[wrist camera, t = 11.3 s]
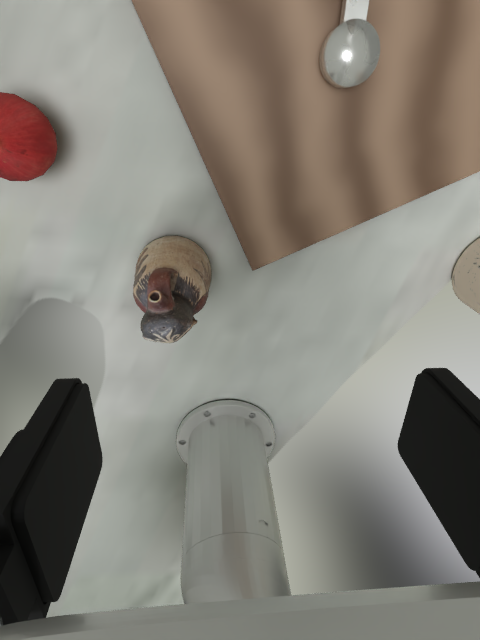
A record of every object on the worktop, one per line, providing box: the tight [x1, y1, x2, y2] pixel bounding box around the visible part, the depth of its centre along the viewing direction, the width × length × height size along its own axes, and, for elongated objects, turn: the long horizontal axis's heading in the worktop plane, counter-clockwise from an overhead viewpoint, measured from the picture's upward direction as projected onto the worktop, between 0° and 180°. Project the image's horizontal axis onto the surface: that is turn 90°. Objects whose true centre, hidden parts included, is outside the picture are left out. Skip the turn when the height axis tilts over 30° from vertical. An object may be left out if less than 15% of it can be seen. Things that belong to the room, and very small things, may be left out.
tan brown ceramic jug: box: [133, 236, 211, 343], centre depth 31 cm, size 7×7×12 cm
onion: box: [0, 92, 57, 181], centre depth 27 cm, size 6×6×8 cm
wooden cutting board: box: [132, 0, 480, 270], centre depth 29 cm, size 26×26×1 cm
